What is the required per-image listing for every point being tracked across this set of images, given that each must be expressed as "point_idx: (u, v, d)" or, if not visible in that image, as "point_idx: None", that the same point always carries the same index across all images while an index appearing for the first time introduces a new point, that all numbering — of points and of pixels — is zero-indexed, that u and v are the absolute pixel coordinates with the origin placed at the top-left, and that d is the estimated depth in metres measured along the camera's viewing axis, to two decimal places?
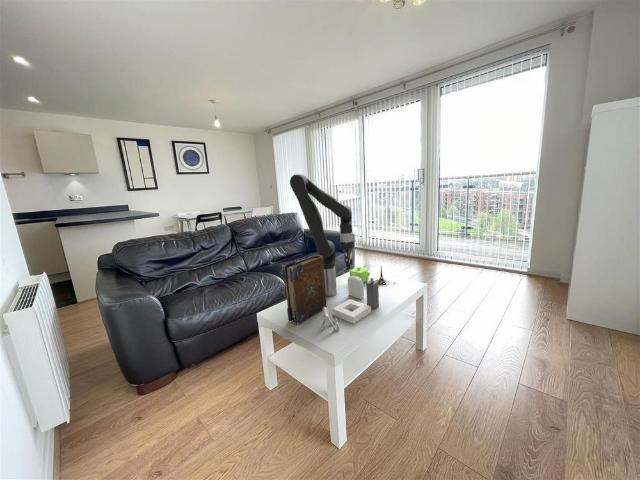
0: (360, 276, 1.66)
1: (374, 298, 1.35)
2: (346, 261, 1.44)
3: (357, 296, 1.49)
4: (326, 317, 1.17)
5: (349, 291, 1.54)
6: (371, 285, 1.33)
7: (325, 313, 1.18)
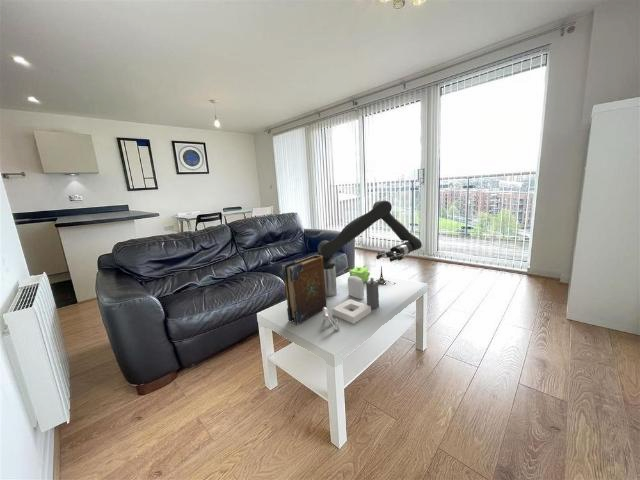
0: (360, 276, 1.66)
1: (374, 298, 1.35)
2: (400, 257, 1.39)
3: (357, 296, 1.49)
4: (326, 317, 1.17)
5: (349, 291, 1.54)
6: (371, 285, 1.33)
7: (325, 313, 1.18)
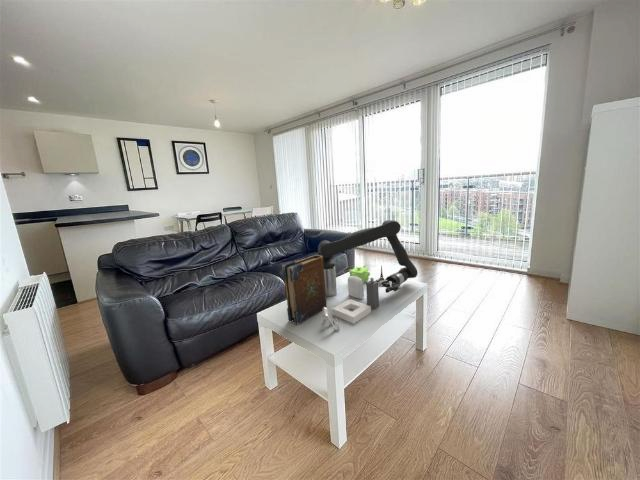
0: (360, 276, 1.66)
1: (374, 298, 1.35)
2: (395, 288, 1.40)
3: (357, 296, 1.49)
4: (326, 317, 1.17)
5: (349, 291, 1.54)
6: (371, 285, 1.33)
7: (325, 313, 1.18)
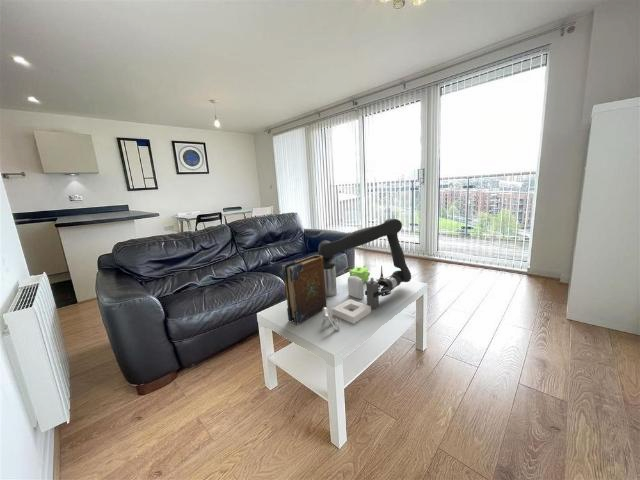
0: (360, 276, 1.66)
1: (374, 298, 1.35)
2: (383, 293, 1.35)
3: (357, 296, 1.49)
4: (326, 317, 1.17)
5: (349, 291, 1.54)
6: (371, 285, 1.33)
7: (325, 313, 1.18)
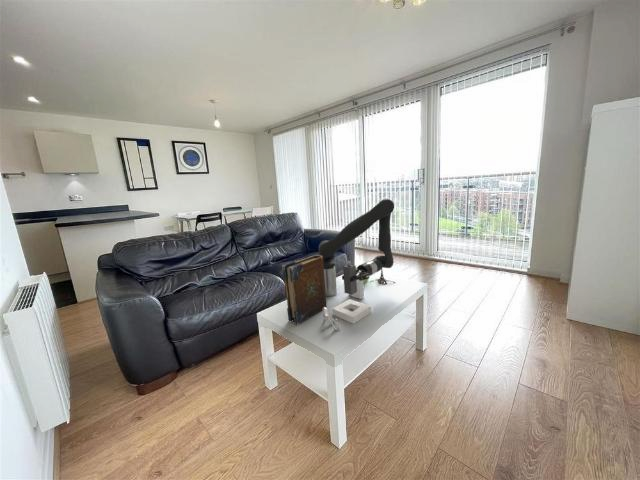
0: None
1: (351, 282, 1.27)
2: None
3: (357, 296, 1.49)
4: (326, 317, 1.17)
5: None
6: (348, 268, 1.25)
7: (325, 313, 1.18)
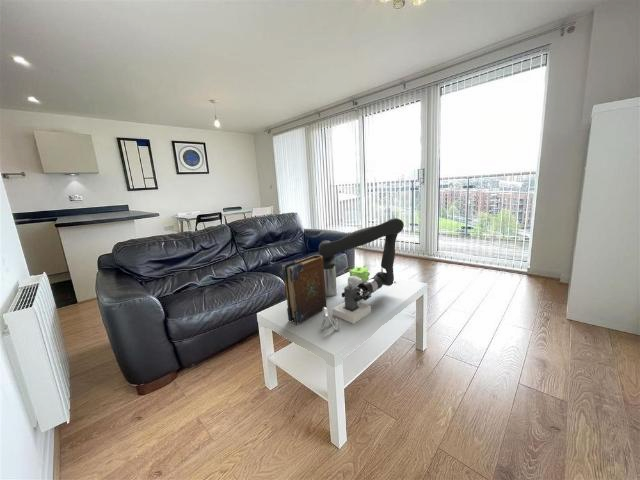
0: (360, 276, 1.66)
1: (352, 304, 1.29)
2: (365, 297, 1.28)
3: None
4: (326, 317, 1.17)
5: None
6: (349, 290, 1.28)
7: (325, 313, 1.18)
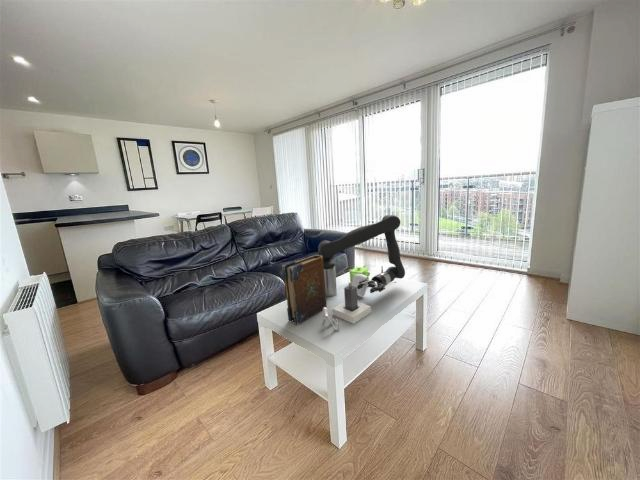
0: None
1: (352, 304, 1.29)
2: (380, 288, 1.37)
3: (358, 292, 1.49)
4: (326, 317, 1.17)
5: None
6: (349, 290, 1.28)
7: (325, 313, 1.18)
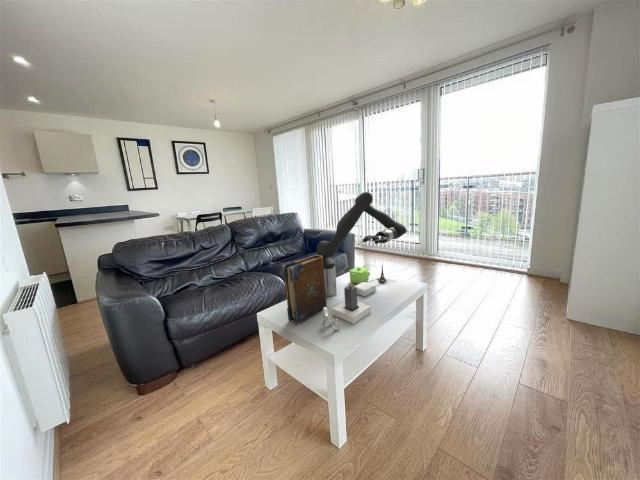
0: (360, 276, 1.66)
1: (352, 304, 1.29)
2: None
3: (363, 289, 1.52)
4: (326, 317, 1.17)
5: (357, 285, 1.58)
6: (349, 290, 1.28)
7: (325, 313, 1.18)
